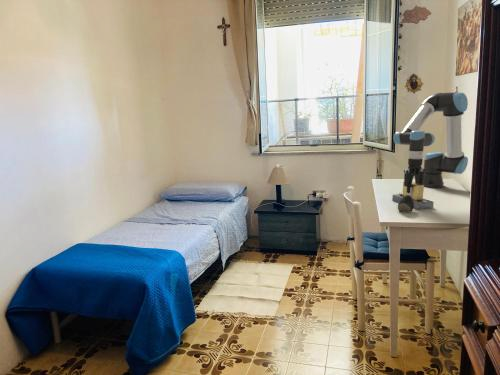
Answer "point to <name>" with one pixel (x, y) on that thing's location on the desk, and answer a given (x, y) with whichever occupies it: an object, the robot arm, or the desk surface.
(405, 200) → the stone
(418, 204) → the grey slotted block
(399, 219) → the desk surface
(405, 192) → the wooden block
